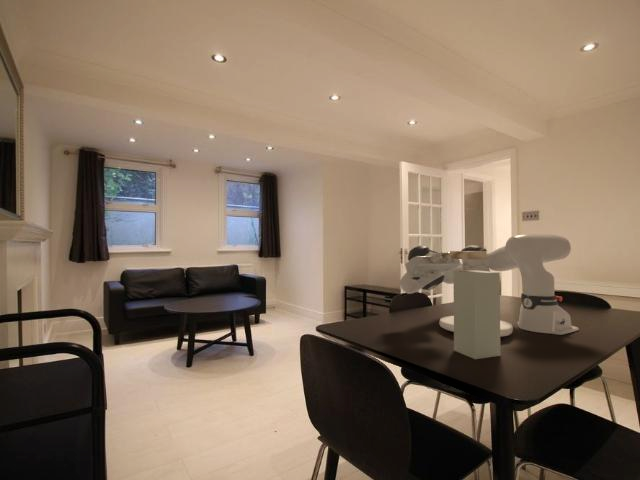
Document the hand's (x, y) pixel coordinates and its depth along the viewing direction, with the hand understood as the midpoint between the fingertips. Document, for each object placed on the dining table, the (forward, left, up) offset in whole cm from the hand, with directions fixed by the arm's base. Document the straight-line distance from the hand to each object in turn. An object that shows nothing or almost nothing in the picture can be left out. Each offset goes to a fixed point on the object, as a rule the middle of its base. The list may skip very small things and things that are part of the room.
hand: (446, 253), depth 119 cm
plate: (-19, -7, -32) cm, 38 cm away
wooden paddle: (0, +6, -1) cm, 6 cm away
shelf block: (0, +14, -31) cm, 34 cm away
